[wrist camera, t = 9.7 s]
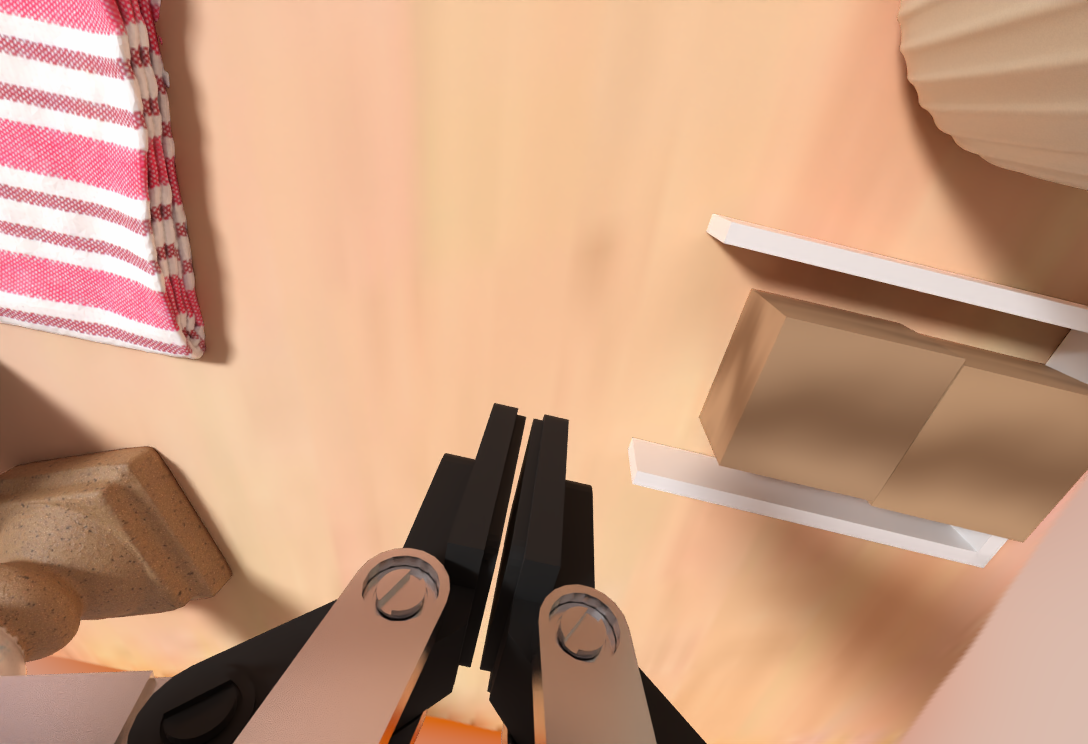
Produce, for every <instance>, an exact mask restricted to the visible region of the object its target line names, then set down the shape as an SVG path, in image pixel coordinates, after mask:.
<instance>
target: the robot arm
mask: <svg viewBox="0 0 1088 744" xmlns="http://www.w3.org/2000/svg"><path fill="white" fill-rule="evenodd" d="M517 412H518V408H514V407H510V406H505V405H501V404H496V403H494V405H493V408H492V411H491V414H490V417H489V420H488V423H487V426H486V429H485V432H484V435H483V438H482V441H481V444H480V447H479V450H478V453H477V456H476V459H475V460H474V459H470V458H465V457H461V456H456V455H452V454H447V453H445V454H444V456H443V458H442V460H441V462H440V464H439V467H438V469H437V471H436V473H435V476H434V478H433V480H432V483H431V485H430V487H429V489H428V492H427V494H426V496H425V499H424V501H423V503H422V505H421V508H420V510H419V512H418V515H417V517H416V519H415V522H414V524H413V526H412V528H411V531H410V533H409V535H408V538H407V540H406V542H405V544H404V547H403V548H398V549H392V550H389V551H385V552H382V553H380V554H378V555H376V556H375V557H373V558H371V559H370V560H368V561H367V562H366V563H365V564H364V565H363V566H362V567H361V568H360V569H359V570H358V572H357V573H356V575H355V576H354V577H353V579H352V580H351V581H350V583H349V584H348V586H347V587H346V588H345V590H344V591H343V592H342V594H341V595H340V597H339V598H338V599H337V600H335V601H332V602H330V603H328V604H326V605H324V606H322V607H319V608H317V609H315V610H313V611H311V612H308V613H306V614H304V615H302V616H300V617H298V618H295V619H293V620H291V621H289V622H287V623H284V624H282V625H280V626H278V627H276V628H274V629H271V630H269V631H267V632H265V633H263V634H260V635H258V636H256V637H254V638H252V639H250V640H247V641H245V642H243V643H241V644H239V645H236V646H234V647H232V648H230V649H228V650H226V651H223V652H221V653H219V654H217V655H215V656H212V657H210V658H208V659H206V660H204V661H202V662H199V663H197V664H195V665H193V666H191V667H189V668H188V669H186V670H184V671H182V672H181V673H179V674H177V675H175V676H174V677H164V678H155V677H154V673H153V671H130V672H103V673H78V674H50V675H23V676H0V744H414V743H415V741H416V738H417V736H418V734H419V731H420V729H421V726H422V724H423V722H424V719H425V716H426V712H427V709H428V708H430V707H431V706H433V705H434V704H435V703H437V702H438V701H440V700H441V699H443V698H444V697H446V696H447V695H449V694H450V693H451V692H452V689H453V685H454V683H455V678H456V674H457V670H458V666H459V665H462V666H466V667H471V663H472V659H473V655H474V651H475V647H476V642H477V638H478V634H479V630H480V626H481V622H482V618H483V614H484V610H485V605H486V601H487V597H488V593H489V589H490V585H491V581H492V577H493V573H494V569H495V564H496V560H497V556H498V551H499V547H500V542H501V537H502V532H503V528H504V523H505V518H506V513H507V508H508V503H509V498H510V493H511V489H512V484H513V479H514V474H515V469H516V464H517V459H518V454H519V450H520V445H521V440H522V435H523V430H524V425H525V420H526V417H524V416H520V415H517ZM568 424H569V420H567V419H563V418H558V417H554V416H549V415H544V417H543V421H542V420H538V419H534V420H533V423H532V427H531V431H530V435H529V439H528V444H527V448H526V452H525V456H524V460H523V464H522V468H521V472H520V476H519V480H518V484H517V488H516V492H515V496H514V500H513V504H512V508H511V513H510V517H509V522H508V527H507V532H506V537H505V542H504V547H503V553H502V558H501V563H500V568H499V573H498V578H497V583H496V588H495V593H494V599H493V604H492V609H491V614H490V619H489V624H488V629H487V634H486V640H485V645H484V650H483V655H482V660H481V666H480V669H481V670H486V671H490V672H491V673H490V679H489V685H488V691H487V692H490V698H489V701H490V702H491V704H492V705H493V707H494V709H495V710H496V712H497V713H498V715H499V716H500V718H501V720H502V721H503V727H502V739H501V740H502V741H501V743H502V744H706V742H705V741H704V740H703V739H702V738H701V737H700V736H699V735H698V733H697V732H696V731H695V730H694V729H693V728H692V727H691V726H690V724H689V723H688V722H687V721H686V720H685V719H684V718H683V717H682V715H681V714H680V713H679V712H678V711H677V710H676V709H675V708H674V706H673V705H672V704H671V703H670V702H669V701H668V700H667V699H666V697H665V696H664V695H663V694H662V693H661V692H660V691H659V689H658V688H657V687H656V686H655V685H654V684H653V683H652V682H651V680H650V679H649V678H648V677H647V676H646V675H645V674H644V673H643V671H642V670H641V669H640V668H639V667H638V663H637V659H636V655H635V651H634V646H633V642H632V638H631V634H630V630H629V627H628V624H627V622H626V619H625V616H624V614H623V613H622V612H621V610H620V609H619V608H618V606H617V605H616V603H614V602H613V601H612V600H611V599H610V598H609V597H607V596H606V595H605V594H604V593H602V592H600V591H598V590H596V589H595V581H594V535H593V492H592V487H591V485H586V484H582V483H578V482H573V481H569V480H565V478H566V460H567V442H568Z"/></svg>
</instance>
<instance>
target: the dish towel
mask: <svg viewBox="0 0 1088 744" xmlns="http://www.w3.org/2000/svg"><path fill="white" fill-rule="evenodd" d="M160 6H161V0H0V323H4V324H12V325H18V326H21V327H25V328H30V329H35V330H40V331H45V332H49V333H54V334H60V335H65V336H70V337H75V338H80V339H85V340H89V341H94V342H98V343H103V344H110V345H114V346H119V347H126V348H131V349H136V350H141V351H146V352H150V353H157V354H163V355H168V356H174V357H183V358H190V359H199V358H200V357H201V356H202V355H203V354H204V352H205V349H206V347H205V334H204V323H203V319H202V316H201V312H200V307H199V304H198V301H197V297H196V293H195V277H194V273H193V269H192V261H191V260H192V256H191V247H190V241H189V236H188V232H187V220H186V215H185V212H184V209H183V203H182V200H181V195H180V190H179V185H178V180H177V175H176V169H175V168H176V166H175V145H174V140H173V137H172V134H171V125H170V111H169V100H168V95H167V91H166V87H168V88H169V86H170V83H169V74H168V72H166V71H165V70H164V67H163V62H162V58H161V54H160V50H159V45H158V38H157V33H156V30H155V24H154V21H155V22H157V21H158V19H159V8H160ZM159 40H160V42H161V44H162V38H161V37H160V36H159ZM165 85H166V87H165Z"/></svg>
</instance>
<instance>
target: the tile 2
mask: <svg viewBox="0 0 1088 744" xmlns="http://www.w3.org/2000/svg"><path fill="white" fill-rule="evenodd" d="M920 335H922V336H924V337H926V338H928V339H930V340H932V341H933V342H935V343H937V344H939V345H941V346H943V347H945V348H946V349H948V350H950V351H952V352H954V353H956V354H958V355H959V356H961V357H963V358H965V359H966V360H965V362H964V363H963V365H962V366H961V368H960V369H959V371H958V372H957V374H956V375H955V377H954V379H953V380H952V382H951V383H950V385H949V386H948V388H947V389H946V391H945V392H944V394H943V395H942V397H941V399H940V400H939V402H938V403H937V405H936V406H935V408H934V409H933V411H932V412H931V414H930V416H929V417H928V419H927V420H926V422H925V423H924V425H923V426H922V428H921V429H920V431H919V432H918V434H917V436H916V437H915V439H914V440H913V442H912V443H911V445H910V446H909V448H908V449H907V451H906V452H905V454H904V456H903V457H902V459H901V460H900V462H899V463H898V465H897V466H896V468H895V469H894V471H893V473H892V474H891V476H890V477H889V479H888V480H887V482H886V483H885V485H884V486H883V488H882V489H881V491H880V493H879V494H878V496H877V497H876V499H875V500H874V501H869V500H867V501H868V503H869V504H870V505H871V506H874V507H878V508H882V509H886V510H891V511H895V512H899V513H903V514H907V515H911V516H915V517H920V518H924V519H928V520H932V521H936V522H940V523H944V524H948V525H953V526H957V527H961V528H965V529H969V530H973V531H977V532H982V533H986V534H990V535H994V536H998V537H1002V538H1006V539H1011V540H1015V541H1019V542H1024V541H1025V540H1026V539H1027V538H1028V537H1029V535H1030V534H1031V533H1032V532H1033V531H1034V530H1035V529H1036V527H1037V526H1038V525H1039V524H1040V523H1041V522H1042V521H1043V519H1044V518H1045V517H1046V516H1047V515H1048V514H1049V513H1050V512H1051V510H1052V509H1053V508H1054V507H1055V506H1056V505H1057V504H1058V502H1059V501H1060V500H1061V499H1062V498H1063V497H1064V496H1065V494H1066V493H1067V492H1068V491H1069V490H1070V489H1071V488H1072V487H1073V485H1074V484H1075V483H1076V482H1077V481H1078V480H1079V479H1080V477H1081V476H1082V475H1083V474H1084V473H1085V472H1086V471H1087V469H1088V384H1086V383H1083V382H1081V381H1079V380H1077V379H1075V378H1073V377H1070V376H1068V375H1066V374H1064V373H1062V372H1060V371H1057V370H1055V369H1053V368H1051V367H1049V366H1047V365H1044V364H1041V363H1037V362H1033V361H1029V360H1025V359H1021V358H1017V357H1012V356H1008V355H1004V354H1000V353H996V352H992V351H988V350H984V349H980V348H976V347H972V346H968V345H964V344H960V343H955V342H951V341H947V340H943V339H939V338H935V337H931V336H927V335H923V334H920Z"/></svg>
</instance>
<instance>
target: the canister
mask: <svg viewBox="0 0 1088 744" xmlns="http://www.w3.org/2000/svg"><path fill="white" fill-rule="evenodd" d="M897 20H898V22H899V24H900V28H901V45H900V51H901V53H902V54H903V56H904V58H905V61H906V65H907V72H908V74H907V79H908V80H909V82H910V83H911V84H913V85H914V87H915V89H916V91H917V94H918V101H919V104H920V106H921V107H922V108H924V109H926V110H927V111H928V112H929V113H930V114H931V115H932V117H933V119H934V123H935V125H936V126H937V128H938V129H940V130H941V131H942V132H944V133H947V134H950V135H951V136H952V138H953V139H954V141H955V142H956V144H957V145H958V146H960V147H961V148H962V149H964V150H966V151H969V152H971V153H974V154H978V155H979V156H980V157H981V158H983V159H984V160H986V161H987V162H988V163H991V164H993V165H995V166H998V167H1001V168H1004V169H1008V170H1012V171H1016V172H1020V173H1023V174H1025V175H1028V176H1032V177H1035V178H1038V179H1042V180H1046V181H1050V182H1054V183H1059V184H1063V185H1067V186H1071V187H1075V188H1080V189H1084V190H1088V0H900V8H899V12H898V15H897Z"/></svg>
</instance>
